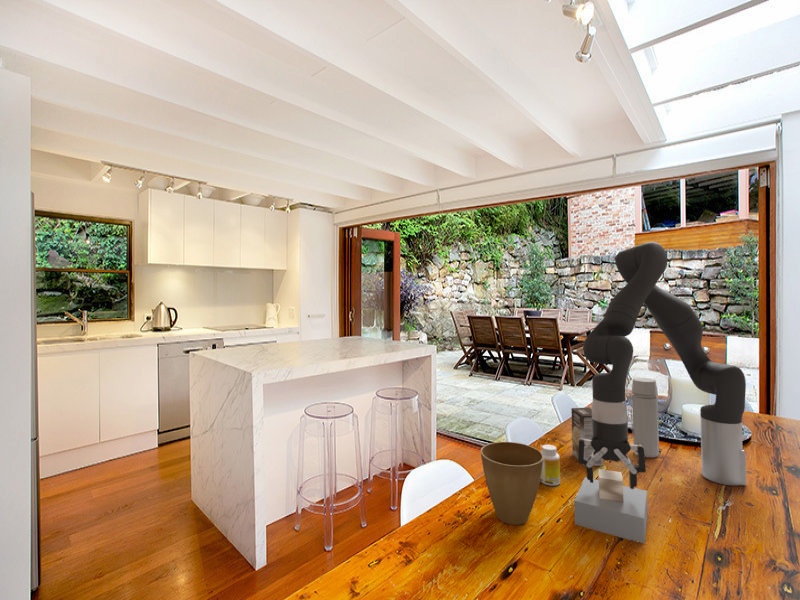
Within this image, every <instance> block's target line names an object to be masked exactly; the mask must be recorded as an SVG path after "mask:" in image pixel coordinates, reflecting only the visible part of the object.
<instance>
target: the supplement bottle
mask: <svg viewBox="0 0 800 600" xmlns="http://www.w3.org/2000/svg"><path fill="white" fill-rule="evenodd" d="M540 452H541V453H542V454H543V457H544V458H543V465H542V471H541V478H540V483H542V484H544V485H545V486H549V487H551V486H552V487H555V486H558V485H559V484H561V461H560V459H561V458H560V454H559V453H558V450H557V446H555V445H553V444H542V445H541V451H540Z"/></svg>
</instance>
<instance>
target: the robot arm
mask: <svg viewBox="0 0 800 600" xmlns="http://www.w3.org/2000/svg"><path fill="white" fill-rule="evenodd" d="M614 261H615V266H616V269H617V271H618V273H619V274H620V276H621V277H622V278H623V280H624V281H625V283H626V284H625V285H624V287H622V288H620V289H621V290H619V291H618V292H617V293H616V294H615V295H614V296H613V297H612V299H611V301H610V302H609V304H608V305H607V308H606V311H605V313H604V316H603V318H602V319H601V321H599V323H598V324H597V325H596V326H595V327H594V328H593V329H592V330H591V332H589V334H587V336H586V338H585V340H584V343H583V346H582V351H583V355H584V357H585V359H586V360H587V361H588V362H590V363H593V364H601V365H611V366H612V368H611V370H610V372H600V373H596V374H594V375H593V376H592V381H591V382H592V383H591V384H592V402H591V403H592V404H591V409H592V432H593V437H592V439H591V440H589V439H584V438H583V437H579V451H578V459H577V462H578V464H580V465H583V464H584V465H585V466H584V465H583V466H584V467H586V477H587V479H588V480H590V483H593V479H594V466H593V465H594V464H595V462H597V461H598V460H599V459H600V458H602V459H603V461H613V462H616V463H619V462H620V461H621V462H622V463H623V465H624V466H625V467H626V468H627V469H628V471H629V472H628V474H629V478H628V479H629V487H630V489H634V488H637V485H638V474H640V473H646V472H647V469H646V468H647V467H646V457H645V455H644V448H643V446H642V444H640V443H638V444H637V445H634V444H633V443H632V444H630V442H629V437H628V436H629V434H628V433H629V429H628V426H629V425H628V424H627V421H629V416H628V409H627V408H628V407H627V401H626V398H627V397H626V382H627V377H628V373H629V372H628V371H629V368H630V366H631V362H632V359H633V355H634V346H633V344H632V342H631V341H630V339H629V338H627V337H629V335H631V333H632V332H633V331H634V328H635V325H636V323H637V320H638V317H639V315H640V312H641V310H642V307H643V306H645V307H646V308H647V310H648V311H649V313H650V314H651V316H652V317H653V319H654V320H655V322H656V324H657V325H658V327H659V329H660V330H661V331H662V333H663V335H664V336H665V337H666V338H667V340H668V341H669V343H670V344H671V346H672V347H673V349H674V351H675V353H676V354H677V355H678V356H679V359H680V360H681V362H682V363H683V366H684V367H685V369H686V371H687V373H688V375H689V378H690V379H691V382H692V383H693V384H694V386H695V387H696V388H697V389H698V390H699V391H702V392H704V393H707V394H709V395H710V394H711V395H715V401H714V404H707V405H703V406H701V407H700V411H699V412H700V413H699V414H700V451H701V452H700V453H701V475H702V477H704V479H706V480H709V481H711V482H713V483H717V484H720V485H724V486H725V485H726V486H733V487H735V486H747V463H746V460H747V459H746V456H747V455H746V453H747V452H746V450H744V448H743V422H742V421H743V415H744V412H745V408H746V393H747V391H746V390H747V388H746V387H747V386H746V385H747V384H746V383H747V381H746V376H745V373H744V372H743V370H742V369H741V368H740V367H738V366H736V365H733V364H727V363H721V362H717V361H716V362H714V361H713V360H711V358H710V357H709V356H708V355H707V354H706V352H705V351H704V348H703V346H702V340H703V332H704V328H703V324H702V322H701V320H700V319H699V317H698V316H697V314H696V312H695V311H694V310H693V308H692V307H691V306H690V304H689V303H687V301H685V300H683V299H681V298H680V297H678V296H676V295H674V294H672V293H670V292H668V291H666V290H664V289H663V288H661V287H659V286H658V285H657V283H658V281H659V280H660V279H661V276H662V275H664V272H665V270H666V268H667V265H668V254H667V252H666V249H665V248H664V247H663V246H662V245H661V244H660V243H658V242H656V241H649V242H648V241H647V242H644V243H641V244H639V245H635V246H632V247H629V248H626V249H624V250H621V251H619V252H618V253H617V254H616V255H615V260H614ZM588 445H591V446H592V447H593V449H594V451H593V453H592V454H591V455H590V457H589V458H588V459H586V458H584V448H587V447H588ZM630 451H633V453H634V454H635V455H636V456H637V464H636V465H635V464H634V463H633V461H631V459H630V458H629V456H628V453H630Z"/></svg>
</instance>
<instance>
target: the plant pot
mask: <svg viewBox="0 0 800 600" xmlns="http://www.w3.org/2000/svg"><path fill="white" fill-rule="evenodd" d="M541 452H542V451H540V450H539V449H538V448H535V447H534V446H531V445H529V444H524V443H520V442H514V441H498V442H497V441H496V442H490V443H487V444H485V445H484V446H482V447H481V449H480V457H481V462H482V469H483V475H484V479H485V482H486V483H485V484H486V486H487V490H488V494H489V497H490V500H491V503H492V507H493V510H494V511H495V512H494V513H495V514H496V518H498V519H499V521H501V522H503V523H505V524H508V525H512V526H519V525H524V524H526V522H527V521H528V520H529V517H530V515H531V513H532V510H533V507H534V505H535V501H536V498H537V493H538V491H539V487H540V483H541V480H540V478H541V471H542V465H543V458H544V457H543V454H542V453H541Z"/></svg>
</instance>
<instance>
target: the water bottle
mask: <svg viewBox="0 0 800 600" xmlns="http://www.w3.org/2000/svg"><path fill="white" fill-rule="evenodd" d="M658 393H659V392H658V387H657V381H656V380H655V379H653V378H650V377H649V378H648V377H634V378H632V383H631V392H629V393H628V395H629V403H628V404H629V405H628V407H631V402H632V409H630V411H627V416H628V417H629V415H630V414H631V415H630V417H631V421H632V424H631V435H630V436H629V435H628V439H629V438H632V437H633V445H637V444H638V443H640V444H642V446H643V448H644V455H645V458H651V459H652V458H653V459H654V458H657V457H658V456H659V455H660V443H659V441H660V440H659V439H660V438H659V437H660V436H659V435H660V434H659V432H660V431H659V404H658V403H659V397H658V395H659V394H658ZM631 399H632V400H631ZM629 413H630V414H629ZM628 423H629V420H627V424H628Z"/></svg>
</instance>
